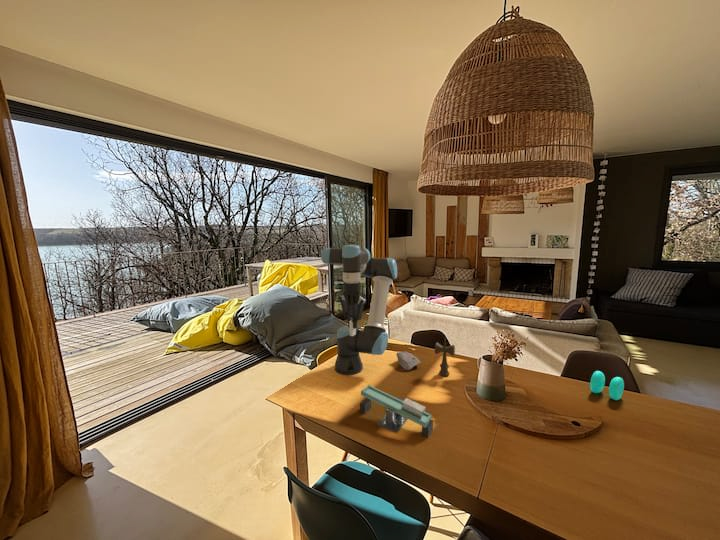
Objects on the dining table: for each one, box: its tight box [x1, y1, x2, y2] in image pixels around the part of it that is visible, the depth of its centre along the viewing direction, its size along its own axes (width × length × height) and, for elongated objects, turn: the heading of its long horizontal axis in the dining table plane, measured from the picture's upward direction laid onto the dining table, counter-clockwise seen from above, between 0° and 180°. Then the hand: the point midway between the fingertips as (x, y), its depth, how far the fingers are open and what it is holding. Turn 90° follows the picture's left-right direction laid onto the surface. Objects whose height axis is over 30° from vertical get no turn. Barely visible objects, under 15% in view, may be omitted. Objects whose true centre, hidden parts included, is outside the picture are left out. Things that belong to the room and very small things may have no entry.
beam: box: [360, 384, 433, 428], centre depth 118 cm, size 7×28×2 cm, turn 57°
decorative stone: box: [396, 351, 422, 371], centre depth 166 cm, size 13×10×6 cm
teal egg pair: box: [589, 370, 625, 401], centre depth 134 cm, size 10×10×10 cm
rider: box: [401, 397, 427, 419], centre depth 114 cm, size 3×8×4 cm, turn 57°
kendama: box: [434, 337, 456, 377], centre depth 154 cm, size 6×10×20 cm, turn 67°
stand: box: [359, 396, 434, 438], centre depth 119 cm, size 13×29×7 cm, turn 57°
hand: (352, 334), depth 131 cm, fingers closed
